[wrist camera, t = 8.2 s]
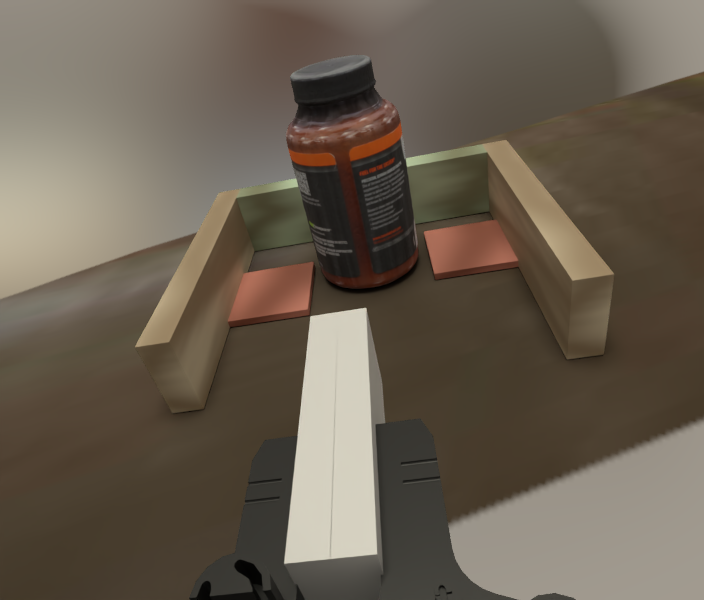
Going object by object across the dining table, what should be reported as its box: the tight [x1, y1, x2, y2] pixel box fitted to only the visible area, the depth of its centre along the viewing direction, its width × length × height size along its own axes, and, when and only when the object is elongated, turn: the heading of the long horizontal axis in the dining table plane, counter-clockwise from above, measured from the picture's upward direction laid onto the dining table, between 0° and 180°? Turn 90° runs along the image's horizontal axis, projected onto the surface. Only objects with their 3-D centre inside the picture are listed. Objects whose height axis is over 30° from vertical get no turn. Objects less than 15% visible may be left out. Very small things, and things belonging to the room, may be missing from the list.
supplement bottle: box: [286, 55, 418, 289], centre depth 27 cm, size 6×6×11 cm
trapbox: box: [135, 140, 614, 413], centre depth 27 cm, size 19×16×4 cm
